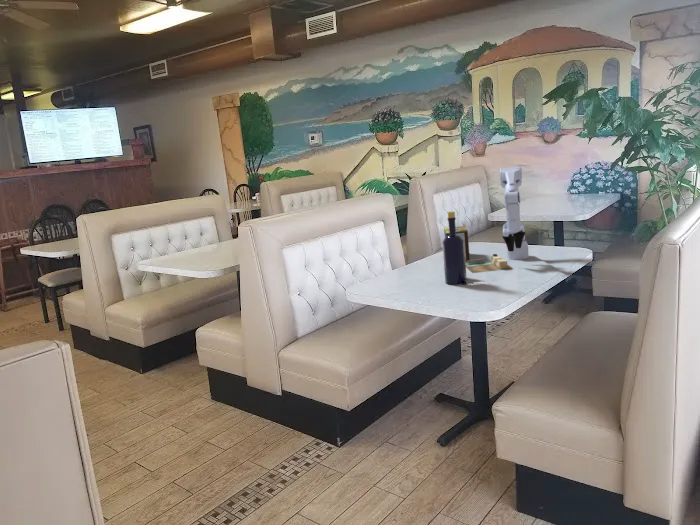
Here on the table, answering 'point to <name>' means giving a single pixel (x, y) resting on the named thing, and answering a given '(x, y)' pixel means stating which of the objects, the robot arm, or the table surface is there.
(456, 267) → the bottle
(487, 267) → the stool board
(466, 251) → the protein box
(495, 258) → the leg
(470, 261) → the bar
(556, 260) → the table surface
